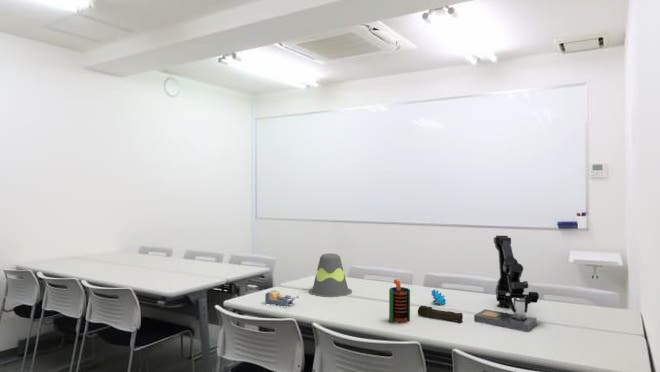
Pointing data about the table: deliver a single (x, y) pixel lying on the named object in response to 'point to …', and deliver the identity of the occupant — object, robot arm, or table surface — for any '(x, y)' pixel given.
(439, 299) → the gear
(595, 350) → the table surface
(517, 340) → the table surface
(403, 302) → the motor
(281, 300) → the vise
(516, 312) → the steel plug
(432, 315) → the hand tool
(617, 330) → the table surface
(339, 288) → the traffic cone
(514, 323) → the plate
